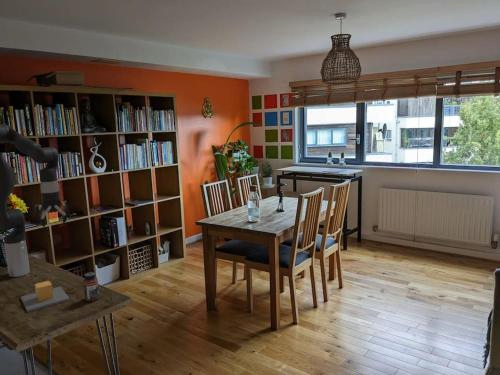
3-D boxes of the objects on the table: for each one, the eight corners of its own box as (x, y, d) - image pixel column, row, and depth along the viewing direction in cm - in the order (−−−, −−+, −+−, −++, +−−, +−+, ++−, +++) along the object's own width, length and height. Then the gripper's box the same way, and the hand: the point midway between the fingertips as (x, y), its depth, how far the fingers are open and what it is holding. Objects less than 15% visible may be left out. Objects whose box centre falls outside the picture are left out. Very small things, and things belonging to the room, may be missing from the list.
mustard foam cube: (36, 297, 169) (34, 284, 168) (50, 293, 173) (49, 280, 172) (39, 301, 165) (37, 288, 164) (53, 297, 168) (51, 284, 167)
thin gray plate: (21, 298, 170) (19, 288, 170) (60, 288, 180) (59, 278, 179) (27, 312, 158) (25, 300, 157) (69, 300, 168) (68, 289, 167)
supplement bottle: (85, 297, 170) (82, 272, 168) (99, 294, 172) (97, 270, 170) (84, 303, 165) (81, 277, 163) (99, 300, 167) (97, 275, 165)
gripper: (64, 187, 188) (68, 220, 191) (31, 191, 179) (35, 226, 182) (68, 189, 182) (72, 223, 185) (34, 194, 173) (38, 229, 176)
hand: (54, 224), depth 183 cm, fingers open, 8 cm apart
